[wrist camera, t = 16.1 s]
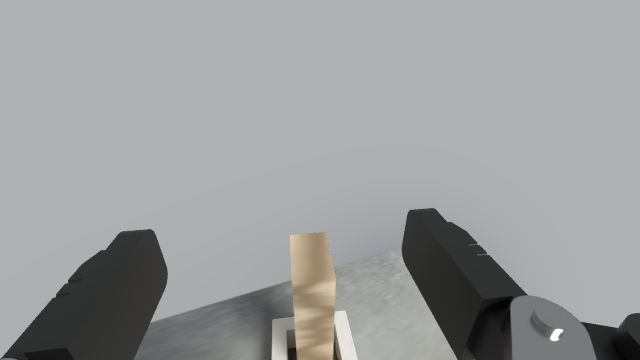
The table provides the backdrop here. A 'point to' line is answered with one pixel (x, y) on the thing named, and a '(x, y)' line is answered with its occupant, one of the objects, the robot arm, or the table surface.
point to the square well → (286, 337)
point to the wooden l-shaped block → (313, 296)
